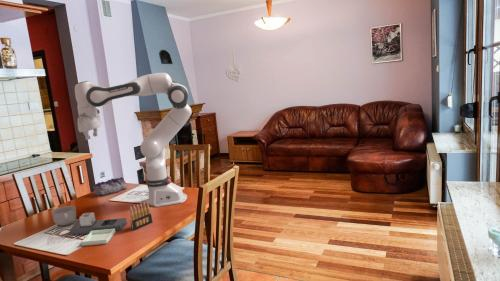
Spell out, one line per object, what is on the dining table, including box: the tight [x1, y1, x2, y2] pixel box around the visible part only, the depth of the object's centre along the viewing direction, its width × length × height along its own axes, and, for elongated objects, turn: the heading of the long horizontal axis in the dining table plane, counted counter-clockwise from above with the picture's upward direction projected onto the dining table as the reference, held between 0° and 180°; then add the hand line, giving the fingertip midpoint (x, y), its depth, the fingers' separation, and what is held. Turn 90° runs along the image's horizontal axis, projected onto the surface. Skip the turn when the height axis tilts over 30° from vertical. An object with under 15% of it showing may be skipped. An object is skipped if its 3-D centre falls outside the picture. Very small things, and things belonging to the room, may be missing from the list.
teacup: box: [51, 205, 77, 227], centre depth 173 cm, size 14×11×8 cm
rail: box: [69, 217, 128, 236], centre depth 165 cm, size 24×8×3 cm, turn 93°
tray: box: [80, 229, 116, 247], centre depth 154 cm, size 11×11×2 cm
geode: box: [92, 176, 127, 197], centre depth 220 cm, size 20×12×10 cm, turn 135°
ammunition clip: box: [129, 200, 153, 231], centre depth 164 cm, size 11×2×12 cm, turn 139°
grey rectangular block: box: [78, 212, 97, 228], centre depth 164 cm, size 5×5×9 cm
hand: (91, 137), depth 182 cm, fingers open, 8 cm apart
